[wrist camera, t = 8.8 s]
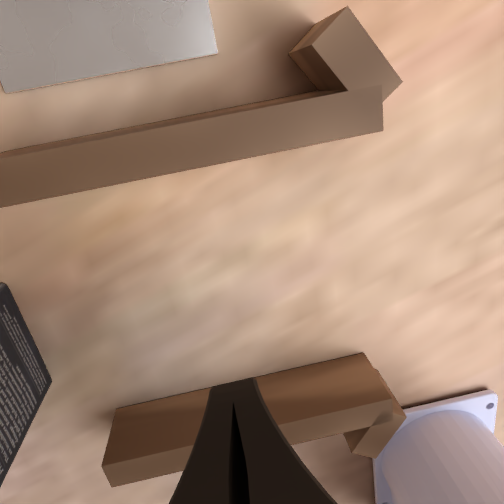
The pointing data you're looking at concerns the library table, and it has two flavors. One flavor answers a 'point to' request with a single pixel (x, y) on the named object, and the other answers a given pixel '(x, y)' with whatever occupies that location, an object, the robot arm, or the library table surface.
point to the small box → (17, 380)
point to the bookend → (97, 38)
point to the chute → (216, 152)
